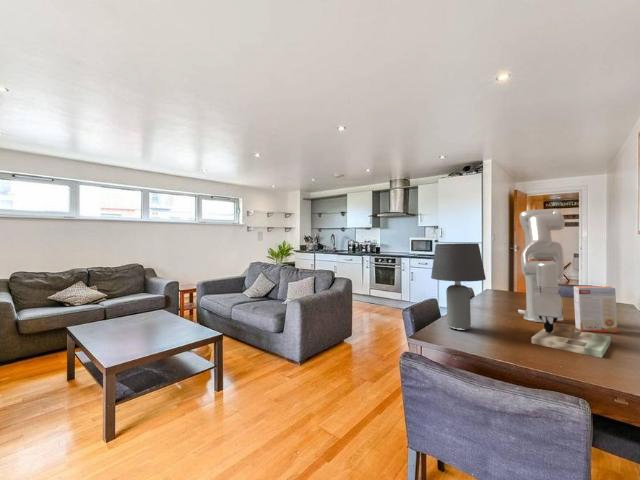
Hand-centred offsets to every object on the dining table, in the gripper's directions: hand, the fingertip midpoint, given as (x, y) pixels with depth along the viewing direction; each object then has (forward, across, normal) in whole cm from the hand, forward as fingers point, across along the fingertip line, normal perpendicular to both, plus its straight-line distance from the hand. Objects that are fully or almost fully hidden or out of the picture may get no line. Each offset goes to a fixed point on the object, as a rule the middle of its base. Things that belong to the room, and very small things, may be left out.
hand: (548, 331), depth 132 cm
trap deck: (+3, +8, 0) cm, 8 cm away
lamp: (+3, -34, -12) cm, 37 cm away
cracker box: (+3, +11, +29) cm, 32 cm away
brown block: (+1, +5, 0) cm, 5 cm away
